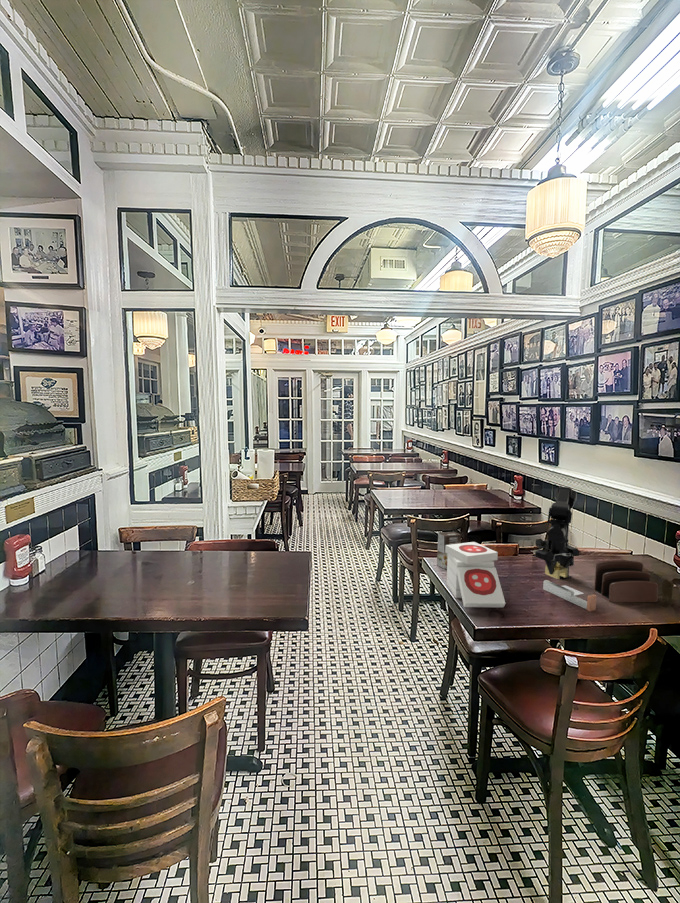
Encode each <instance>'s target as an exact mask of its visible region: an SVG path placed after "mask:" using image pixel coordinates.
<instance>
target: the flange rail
mask: <svg viewBox="0 0 680 903" xmlns="http://www.w3.org/2000/svg"><path fill="white" fill-rule="evenodd" d="M542 584H543V585H542V586H543V587H542V590H544V591H546V592H548V593H551V594H552V595H555V596H557V597H559V598H561V599H563V600H565V601H568V602H570V603H572V604H574V605H576V606H578V607H581V608H583V609H584V610H586V611H587V612H593V611H596V608H597V595H596V594H595V593H594V594H589V595H587V600H585V599H583V598H581V597H578V596H577V595H575V596H574V592H573V591H571V590H569V589H567V588H564V587H562V586H563V585H559V584H557V583H555V582H553V581H550V580H548V579H545V580H543V583H542Z"/></svg>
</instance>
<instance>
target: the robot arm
mask: <svg viewBox="0 0 680 903" xmlns="http://www.w3.org/2000/svg"><path fill="white" fill-rule="evenodd" d="M554 491H555V493H554V499H555V500H556V501H555V502H553V503H552V504H551V505H550V506H551V507H549V509H548V516H547V524H550V528H549V530H548V531H547V538H546V539H542V538H536V539H535V542H534V543H535V546H536V547H537V548H538V549H537V550H536V551H535V553H534V558H535V557H536V558H538V559H540V560H543V561H544V562H545V564H546V565H547V568H548V571H549V574H551V575H552V574H553V571H554V568H555V565H556V562H557V561H558V562H560V566H563V567H565V568H568V575H567V577H566V578H565V577H562V576H560V579H559V580H566V579H571V578H573V577H572V576H571V575H569V574H570V567H572V566H573V567H574V565H575V564H574V562H575V558H574V557H578V556H580V550H579V549H578V548H577V547H574V546H570V543H569V528H570V524H572V517H573V512H572V511H571V510H572V509H573V507H574V506H575V504H576V502H577V499H578V498H577V496H578V495H577V491H576V490H575V489H574V490H573V488H571V487H569V486H558V488H556V489H555V490H554Z"/></svg>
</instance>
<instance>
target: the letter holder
mask: <svg viewBox="0 0 680 903" xmlns="http://www.w3.org/2000/svg"><path fill="white" fill-rule="evenodd" d="M643 570H644V563H643V562H641V561H636V560H623V559H622V560H606V561H604V560H603V561H598V562H596V565H595V572H594V575H595V576H594V586H593V588H594V589H593V592H594V594H597V595H599V596H600V597H601V598H603V599H605V600H606V601H608V602H610V603H611V602H613V603H614V602H615V603H617V602H619V603H626V602H627V603H629V602H633V603H634V602H635V603H637V602H638V603H639V602H643V603H644V602H645V603H658V601H659V600H658V594H659V584H658V583H657V582H653V581H651V574H650V572H645V571H643Z"/></svg>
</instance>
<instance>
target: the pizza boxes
mask: <svg viewBox="0 0 680 903" xmlns="http://www.w3.org/2000/svg"><path fill="white" fill-rule="evenodd" d="M445 553H447V554H448V558H447V569H446V585H447V586H448V588H449V590H450V591H451V592H452V594H453V596H454V597H455V599H461V601H462V605H463V607H464V608H504V607H505V605H506V600H505V597H504V593H503V590H502V585H501V582H500V578H499V575H498V571H497V568H496V567H495V561H498V557H499V556H498V554H499V553H498V551H496V550H493V549H491V548H489V547H487V546H485V545H482V544H480V543H478V542H476V541H470V542H461V543H459V544H451V545H446V546H445Z"/></svg>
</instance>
